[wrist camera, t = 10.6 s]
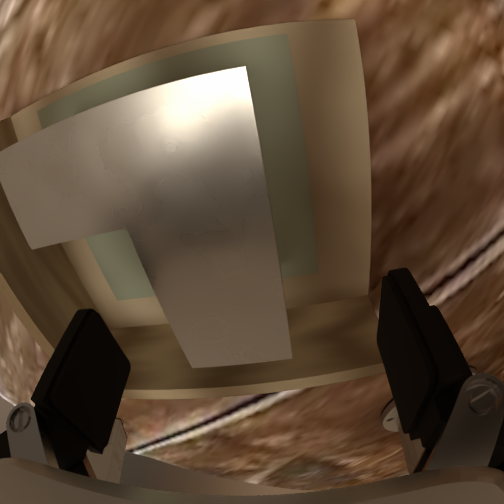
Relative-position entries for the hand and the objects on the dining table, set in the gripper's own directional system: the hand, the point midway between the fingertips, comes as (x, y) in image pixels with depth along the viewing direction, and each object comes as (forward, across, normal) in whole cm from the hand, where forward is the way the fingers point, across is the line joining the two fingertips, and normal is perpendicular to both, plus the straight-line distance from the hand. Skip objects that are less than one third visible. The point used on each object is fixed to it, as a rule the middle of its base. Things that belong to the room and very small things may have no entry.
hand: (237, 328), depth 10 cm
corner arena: (+8, +3, -1) cm, 8 cm away
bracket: (+6, +3, -3) cm, 7 cm away
